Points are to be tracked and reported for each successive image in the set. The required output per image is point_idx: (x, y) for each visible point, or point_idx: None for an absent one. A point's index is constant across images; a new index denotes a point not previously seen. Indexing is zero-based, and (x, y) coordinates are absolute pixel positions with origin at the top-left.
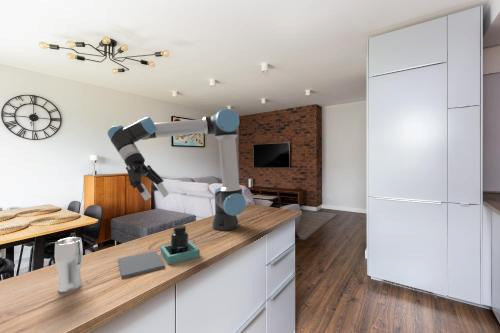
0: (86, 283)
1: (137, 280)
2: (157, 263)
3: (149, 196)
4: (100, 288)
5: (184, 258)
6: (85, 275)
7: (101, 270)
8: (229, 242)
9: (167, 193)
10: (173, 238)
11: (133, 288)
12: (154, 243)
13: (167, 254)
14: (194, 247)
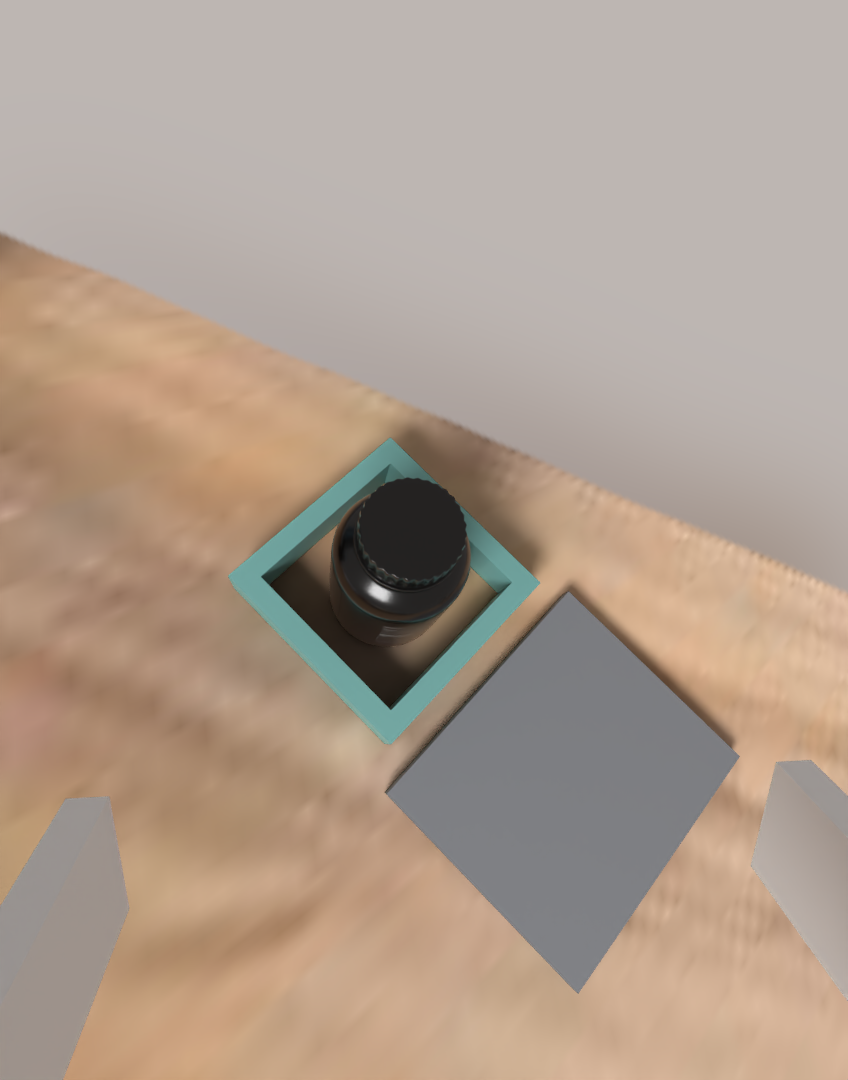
0: None
1: (712, 657)
2: (561, 646)
3: (820, 777)
4: None
5: None
6: (778, 1025)
7: (702, 978)
8: (101, 338)
9: (102, 820)
10: (468, 574)
11: (768, 627)
12: (183, 955)
13: (509, 607)
14: (359, 482)
